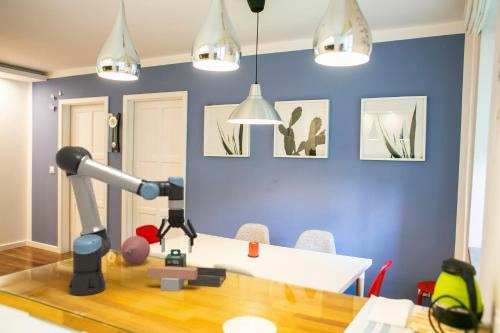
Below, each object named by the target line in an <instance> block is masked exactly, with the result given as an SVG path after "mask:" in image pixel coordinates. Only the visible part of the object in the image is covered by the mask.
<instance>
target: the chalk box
mask: <svg viewBox="0 0 500 333" xmlns="http://www.w3.org/2000/svg"><path fill="white" fill-rule="evenodd" d="M174 252H177V253H174ZM181 252H182V251H181V249H179V248H177V249H170V253H168V254H167V255H165V256H166V257H165V258H164V266H165V267H184V268H187V253H184V252H183V253H181ZM185 280H186V279H184V281H185Z"/></svg>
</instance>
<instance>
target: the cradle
mask: <svg viewBox="0 0 500 333" xmlns="http://www.w3.org/2000/svg"><path fill="white" fill-rule="evenodd" d="M195 268H198V277H197V278H196V279H195V280H192V279H187V286H190V287H193V286H195V287H211V288H213V287H214V288H220V287H221V285H222V284H223V283H224V281H225V280H226V278H227V268H224V267H223V268H221V267H204V266H203V267H200V266H199V267H198V266H196V267H195Z"/></svg>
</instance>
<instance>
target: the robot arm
mask: <svg viewBox="0 0 500 333" xmlns="http://www.w3.org/2000/svg"><path fill="white" fill-rule="evenodd" d="M54 161H55V163H56V165H57V167H58V168H59V169H60V170H62V171H64V172H65V175H66V178H67V179H69V180H70V181H71V186H72V190H73V194H74V199H75V204H76V207H77V211H78V215H79V220H80V224H81V229H82V230H81V232H80V234H79V235H80V236H78V237H75V239H74V240H73V243H72V270H73V271H72V276H71V279H70V281H69V285H68V293H69V294H70V295H71V296H91V295H95V294H99V293H102V292H104V291H105V290H106V288H107V287H106V286H107V285H106V284H107V283H106V280H105V277H104V274H103V271H102V266H103V265H102V264H103V263H102V259H103V257H105V256H106V255H107V254H108V253H109V252H110V250H111V248H112V244H113V243H112V238H111V236H110V235H109V233H108V231H107V227H105V226H104V225H103V224H102V221H101V217H100V211H99V209H98V204H97V199H96V195H95V191H94V187H93V182H92V179H94V180H96V181H99V182H102V183H104V184H108V185H110V186H113V187H115V188H119V189H121V190H123V191H125V192H129V193H132V194H133V195H136V196H139V197H141V198H143V199H144V200H145V201H153V200H155V199H157V198H158V197H160V198H161V197H163V198H164V197H167V198H168V199H167V200H168V201H167V206H168V207H167V208H168V211H167V212H168V216H167V217H168V218H166V217H164V218H162V219H161V224H160V226H159V228H158V230H157V232H156V234H155V238H158V239H159V246H160V247H161V248H160V249H161V253H164V252H166V238H165V236H166V235H167V234H168V232H169V231H170V229H171V228H172V229H175V228H176V229H179V228H180V229H181V230H182V231H183V232H184V233H185V235H186V236H187V237H188V254H191V253H193V250H192V247H193V246H194V243H195V242H194V240H195V239H196V238H198V235H197V232H196V230H195V228H194V226H193V224H192V221H191V220H192V219H191V218H186V219H185V209H184V208H185V184H184V183H185V181H184V177H183V176H168V178H167V180H158V181H157V180H152V181H151V180H147V179H144V178H140V177H138V176H136V175H133V174H131V173H128V172H125V171H123V170H120V169H118V168H116V167H112V166H110V165H108V164H104V163H102V162H99V161H97V160H94V159H93V156H92V154H91V152H90V151H89V150H88V149H87V148H85V147H83V146H77V145H76V146H74V145H66V146H63V147H61V148H60V149H59V150H58V151H56V155H55V159H54ZM167 223H168V225H167V227H166V228H165V226H166V224H167ZM185 223H186V224H187V227H188V228H187V227H186V224H185ZM164 228H165V229H164ZM163 229H164V231H163Z"/></svg>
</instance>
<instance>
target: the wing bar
mask: <svg viewBox="0 0 500 333" xmlns="http://www.w3.org/2000/svg"><path fill="white" fill-rule="evenodd" d="M197 277H198V268H196V267H186V268H184V267H165V265H164V266H163V265H162V266H161V265H160V266H158V265H150V266H149V267H147V278H159V279H162V278H174V279H185V280H188V279H192V280H195V279H196V278H197Z"/></svg>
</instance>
